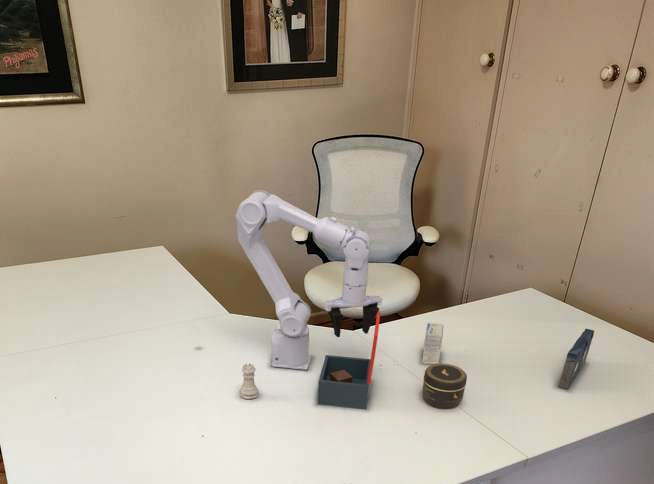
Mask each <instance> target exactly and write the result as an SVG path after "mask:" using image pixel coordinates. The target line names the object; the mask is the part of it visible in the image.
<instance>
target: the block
mask: <svg viewBox="0 0 654 484" xmlns="http://www.w3.org/2000/svg"><path fill="white" fill-rule="evenodd" d="M352 379H353V377H352V376H351V375H350V374H349V373H347V372H346V371H345V370H341V371H337V372H333V373H330V381H337V382H347V383H352Z"/></svg>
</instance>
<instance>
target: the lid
mask: <svg viewBox="0 0 654 484" xmlns="http://www.w3.org/2000/svg"><path fill="white" fill-rule="evenodd" d="M380 320H381V311H379V312H377V315H376V317H375V326H374V332H373V339H372V346H371V352H370V353H371V354H370V358H369V359H370V368H369V376H368V385H369V386H371V384H372V377H373V371H374V370H373V369H374V364H375V357H376V351H377V344H378V337H379V329H380V328H379V327H380Z"/></svg>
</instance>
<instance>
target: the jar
mask: <svg viewBox="0 0 654 484" xmlns="http://www.w3.org/2000/svg"><path fill="white" fill-rule="evenodd" d="M467 381H468V376H467V373H466V371H465V370H463V369H462V368H460V367H459V366H457V365H454V364H450V363H439V364H430V365H429V366H427V367H426V368H425V370H424V374H423V383H422V389H421V395H422V399H423V401H424V402H425V403H426V405H428V406H430V407H432V408H434V409H439V410H452V409H455V408H457V407H458V406H459V405H460V404H461V402H462V400H463V398H464V394H465V389H466V386H467Z"/></svg>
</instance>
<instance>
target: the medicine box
mask: <svg viewBox="0 0 654 484" xmlns="http://www.w3.org/2000/svg"><path fill="white" fill-rule="evenodd" d="M425 329H426V330H425V336H424V344H423V352H422V360H421V363H422V364H425V365H433V364H440V359H441V357H440V356H441V352H442V351H441V350H442V344H443V337H444V324H442V323H434V322H427V323H426V328H425Z"/></svg>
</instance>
